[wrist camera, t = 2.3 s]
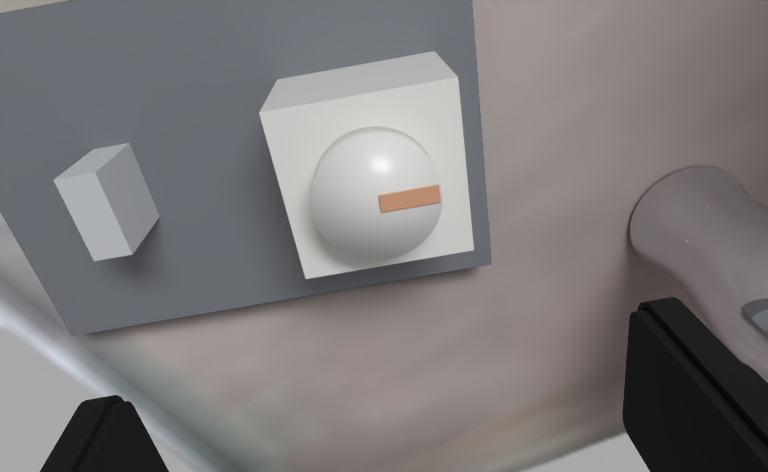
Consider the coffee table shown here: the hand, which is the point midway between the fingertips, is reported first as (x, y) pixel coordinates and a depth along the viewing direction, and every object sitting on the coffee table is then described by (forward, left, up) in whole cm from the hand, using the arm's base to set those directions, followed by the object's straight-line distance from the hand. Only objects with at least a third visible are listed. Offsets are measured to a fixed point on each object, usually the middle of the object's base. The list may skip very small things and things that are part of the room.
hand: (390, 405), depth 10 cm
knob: (0, 0, -15) cm, 15 cm away
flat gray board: (0, -6, -17) cm, 18 cm away
